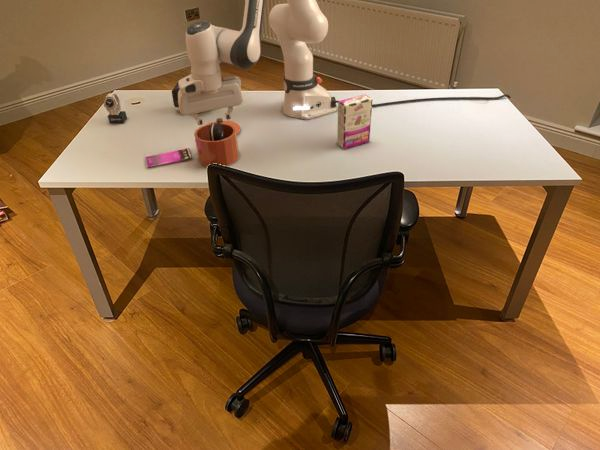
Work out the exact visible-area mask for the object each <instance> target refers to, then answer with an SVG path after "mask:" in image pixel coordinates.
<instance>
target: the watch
mask: <svg viewBox="0 0 600 450" xmlns="http://www.w3.org/2000/svg"><path fill="white" fill-rule="evenodd" d="M102 104H103V107H104V108H105V109H106V112H108V115H107V119H108V122H109V124H125V122H126V121H127V120H128V116H127V113H126V110H121V109H122V107H121V106H122V105H121V99H120V98H119V95H118V94H117V93H115V92H113V93H112V92H111V93H107V95H106V96H105V98H104V99H103V101H102Z"/></svg>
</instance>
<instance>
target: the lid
mask: <svg viewBox="0 0 600 450" xmlns="http://www.w3.org/2000/svg"><path fill="white" fill-rule="evenodd" d="M211 123H226V124H230V125H232V126H233V127H234V128H235V129H236V135H237V136H238V134H239V133H240V132H241V126H240V124H239V123H237V122H235V121H231V120H223V118H221V117H218V118H216V119H215V121H212V122H209V123H208V124H211Z"/></svg>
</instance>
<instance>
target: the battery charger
mask: <svg viewBox="0 0 600 450" xmlns="http://www.w3.org/2000/svg"><path fill="white" fill-rule="evenodd" d="M210 123H211V126H210V130H209V133H210V140H211V141H218V140H223V138H224V131H223V126H222V124H221V123H212V122H210Z"/></svg>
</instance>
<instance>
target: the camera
mask: <svg viewBox="0 0 600 450" xmlns="http://www.w3.org/2000/svg"><path fill="white" fill-rule="evenodd" d="M179 90H180V88H179V85H178V82H177V83H176V84H175V86H174V87H173V89H172V90H171V96H172V102H173V106H174V108H178V111H180V109H179V103H178V91H179Z"/></svg>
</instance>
